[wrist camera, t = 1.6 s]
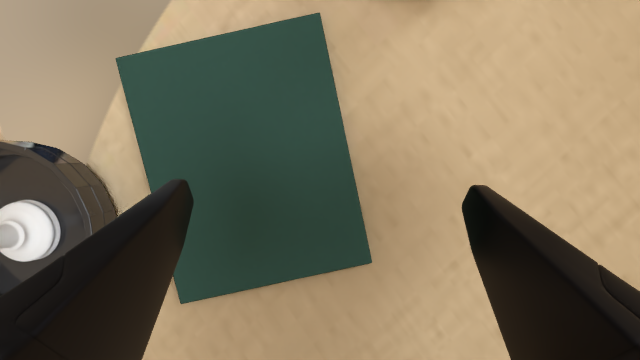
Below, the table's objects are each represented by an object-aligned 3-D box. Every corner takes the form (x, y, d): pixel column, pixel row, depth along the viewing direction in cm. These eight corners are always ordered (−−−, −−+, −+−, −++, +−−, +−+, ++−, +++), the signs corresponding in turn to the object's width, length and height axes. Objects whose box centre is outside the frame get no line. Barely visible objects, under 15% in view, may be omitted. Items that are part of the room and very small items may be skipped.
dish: (130, 304, 25) (104, 325, 22) (-38, 317, 25) (-86, 339, 22) (108, 136, 24) (78, 133, 21) (-67, 149, 24) (-123, 148, 21)
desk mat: (371, 260, 25) (372, 262, 24) (183, 300, 25) (180, 304, 24) (319, 15, 23) (319, 11, 23) (120, 60, 23) (114, 57, 23)
